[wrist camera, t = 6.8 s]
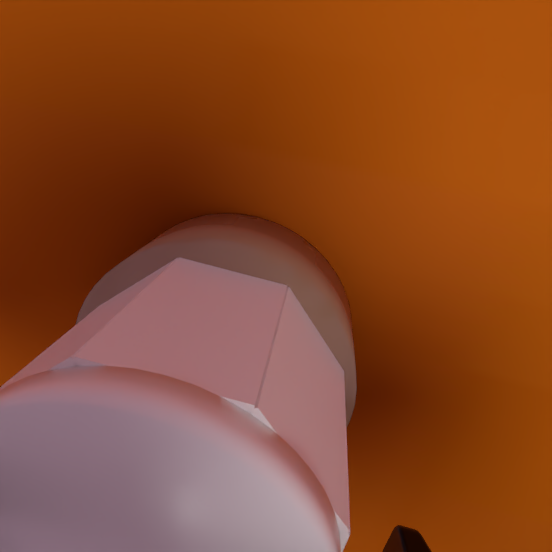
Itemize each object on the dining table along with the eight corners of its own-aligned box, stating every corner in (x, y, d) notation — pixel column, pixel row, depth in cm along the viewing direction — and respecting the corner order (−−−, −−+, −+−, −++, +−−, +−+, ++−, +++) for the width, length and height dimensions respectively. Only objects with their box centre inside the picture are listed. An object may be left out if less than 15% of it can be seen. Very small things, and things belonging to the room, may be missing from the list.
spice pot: (317, 441, 15) (303, 694, 8) (118, 386, 15) (-43, 590, 9) (384, 249, 12) (443, 411, 5) (135, 185, 12) (-89, 268, 6)
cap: (303, 500, 12) (283, 745, 7) (87, 440, 12) (-63, 639, 8) (373, 303, 9) (411, 490, 5) (98, 232, 10) (-120, 343, 5)
